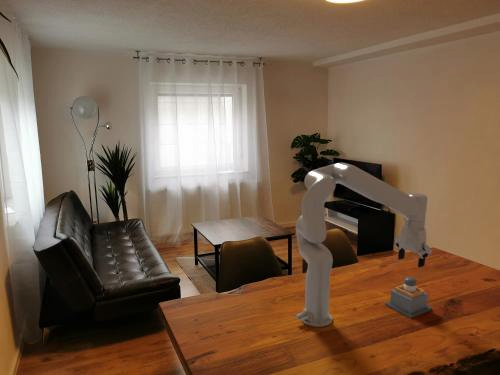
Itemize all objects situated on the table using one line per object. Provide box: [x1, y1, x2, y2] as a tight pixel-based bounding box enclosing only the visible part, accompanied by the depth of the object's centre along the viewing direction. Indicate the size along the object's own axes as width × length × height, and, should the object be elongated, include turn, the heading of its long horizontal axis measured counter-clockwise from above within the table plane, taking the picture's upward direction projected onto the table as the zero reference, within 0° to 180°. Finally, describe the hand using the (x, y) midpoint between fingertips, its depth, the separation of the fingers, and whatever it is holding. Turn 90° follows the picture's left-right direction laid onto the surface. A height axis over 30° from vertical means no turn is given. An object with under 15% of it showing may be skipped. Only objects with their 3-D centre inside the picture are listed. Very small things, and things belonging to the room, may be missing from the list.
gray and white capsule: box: [403, 276, 418, 294], centre depth 166 cm, size 5×5×6 cm
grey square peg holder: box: [384, 283, 433, 319], centre depth 167 cm, size 14×13×8 cm
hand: (410, 262), depth 164 cm, fingers open, 9 cm apart
